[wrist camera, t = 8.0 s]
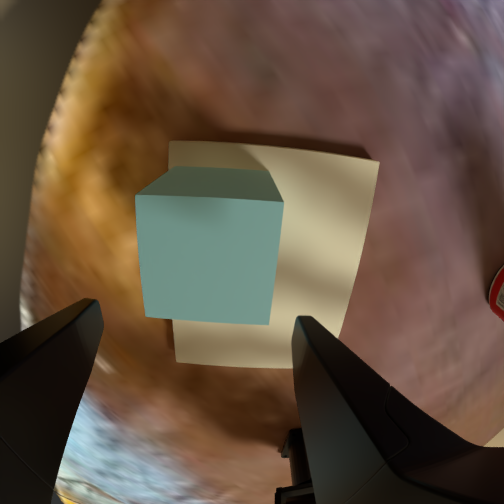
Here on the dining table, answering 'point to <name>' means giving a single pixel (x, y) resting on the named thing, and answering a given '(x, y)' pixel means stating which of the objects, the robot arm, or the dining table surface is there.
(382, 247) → the dining table surface
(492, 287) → the beverage can
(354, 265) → the board
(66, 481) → the dining table surface
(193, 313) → the teal rectangular block
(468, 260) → the dining table surface
